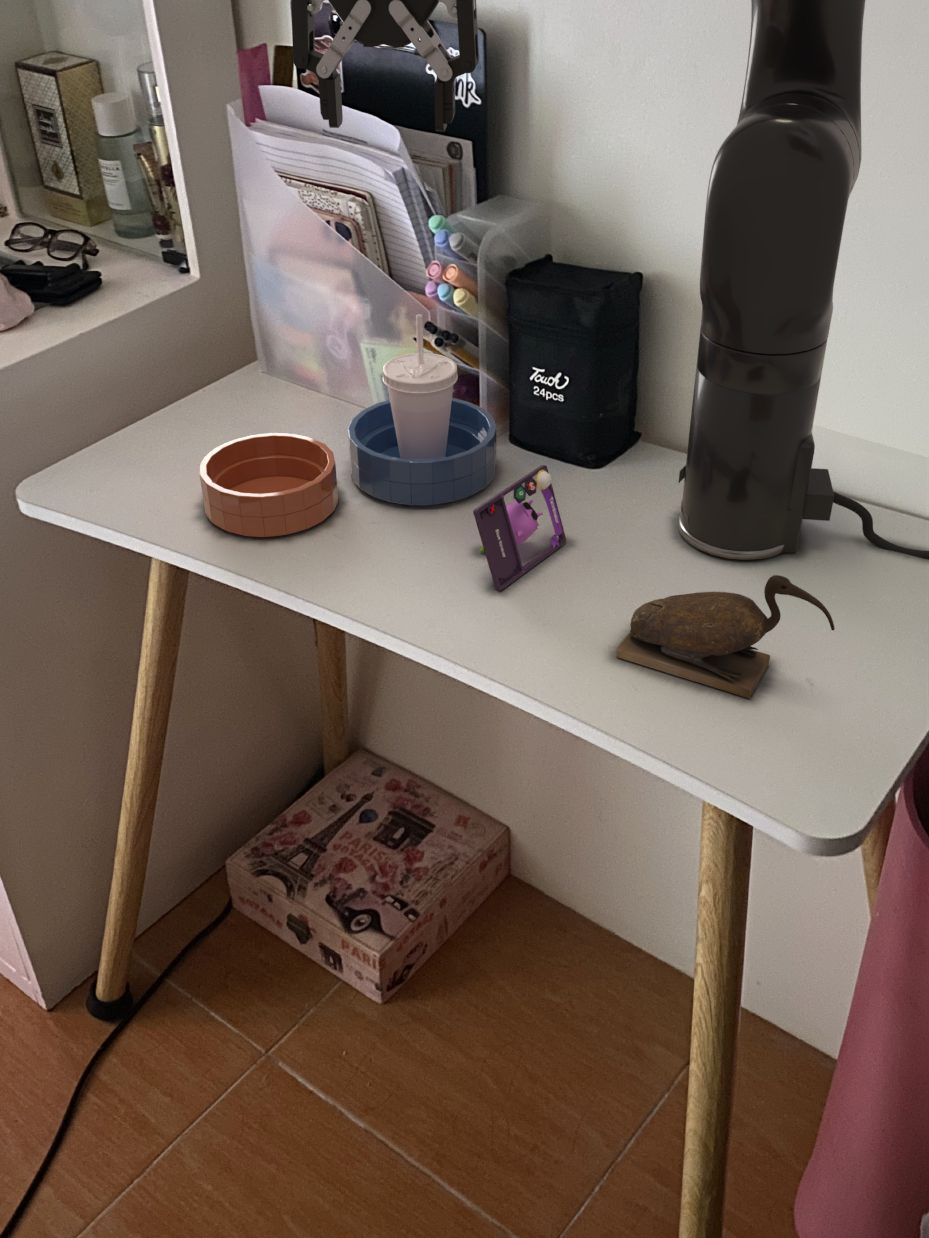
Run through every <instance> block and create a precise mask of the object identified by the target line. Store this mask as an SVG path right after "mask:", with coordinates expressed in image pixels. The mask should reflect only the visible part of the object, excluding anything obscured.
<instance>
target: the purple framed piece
mask: <svg viewBox="0 0 929 1238" xmlns="http://www.w3.org/2000/svg"><path fill="white" fill-rule="evenodd" d="M534 477H535V478H534ZM552 481H553V480H552V476H551V474H550V472H549V469H548V466H547V465H546V464H542V465H539V466H538V467H536V468H535V469H534V470H532V471H530V472H529V473H527V474H526V475H524V476H522V477H521V478H520V479H518V480H516V481H515V482H514V483H513V482H512V484H510V485H509V486H507V487H506V488H504V489H503V490H501V491H499V492H498V493H496V494H495V495H494V496H492V497H490V498H489V499H488V500H485V501H484V502H483V503H481V504H480V505H478V506H476V507H475V508H474V509H473V512H472V514H473V516H474V520H475V525H476V527H477V530H478V535H479V537H480V540H481V545H482V546H481V547H480V549H479V551H480V552H481V553H484V555H485V558H486V562H487V566H488V569H489V571H490V572H489V573H490V575H491V579H492V582H493V585H494V588H495V590H496V591H502V590H505V588H507V587H508V586H510V584H512V583H513V582H515V581H516V580H518V579H519V578H520V577H522V576H523V575H524V574H525V573H527V572H528V571H530V570H531V569H532V568H534V567H535V566H537V565H538V564H539V563H541V562H542V561H543V560H544V559H546V558H547V557H549V556H550V555H551V554H553V553H555V551H557V550H558V549H559V548H561V547H563V545H565V544H566V543H567V537H566V533H565V529H564V525H563V521H562V518H561V514H560V510H559V507H558V502H557V499H556V495H555V492H554V488H553V484H552ZM523 484H524V485H523ZM537 487H538V489H539V490H540V492H541V494H542V496H543V499H544V502H545V504H546V507H547V511H548V513H549V517H550V520H551V523H552V527H553V532H554V534H553V535H552V536H551V537H550V542H551V545H549V546H548V547H547V548H546V549H544V550H543V551H541V552H540V553H539V554H537V555H536V556H534V557H533V558H532V559H531V560H529V561H528V562H526V563H525V564H523V563H522V560H521V554H520V552H519V548H518V546H520V545H522V544H523V543H524V542H526V541H527V540H529V539H530V537H532V535H533V534H534V533H535V532H536V531H537V530H540V528H539V527H542V526H543V524H542V523H539V521H538V519H539V517H540V516H543V514H544V512H543V511H539V512H536V510H535V509H534V508H533V506H532V505H533V503H534V500H533V499H530V500H529V501H526V498H527V497H526V496H528V497H531V496H533V495H534V494H536V493H537ZM512 491H513V500H514V501H513V502H510V503H508V504H507V505H506V501H505V496H506V495H508V494H509V493H511V492H512Z"/></svg>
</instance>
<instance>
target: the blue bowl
mask: <svg viewBox="0 0 929 1238" xmlns="http://www.w3.org/2000/svg"><path fill="white" fill-rule="evenodd" d="M347 437H348V451H349V464H350V465H349V466H350V473H351V479H352V481H353V482H354V483H355V485H356V486H357V487H358V489H360V490H361V491H362V492H364V493H366V494H367V495H369V496H371V497H373V498H374V499H375V498H376V499H377V500H378V499H379V500H382V501H385V502H388V503H394V504H400V505H407V506H433V505H434V506H435V505H441V504H447V503H452V502H457V501H460V500H462V499H465V498H468V497H471V496H473V495H475V494H477V493H478V492H480V491H481V490H483V489H485V488H486V487H487V486H488V485H489V484H490V483H491V481H492V480H493V479H494V478H495V475H496V470H497V425H496V422H495V419H494V417H493V415H491V413H489V412H488V411H487V410H485V408H483V407H480V406H479V405H476V404H474V403H472V402H470V401H466V400H463V399H460V398H456V397H452V403H451V412H450V420H449V429H448V438H447V447H446V456H445V457H441V458H435V459H404V458H400V453H399V447H398V442H397V436H396V431H395V425H394V420H393V414H392V409H391V403H390V399H387V400H383V401H380V402H377V403H374V404H372V405H370V406H368V407H367V408H364V409H362V410H361V411H359V412H358V413H357V414H356V415H355V416H354V417H353V418H352V419H351V421H350V423H349V425H348V427H347Z"/></svg>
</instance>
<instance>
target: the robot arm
mask: <svg viewBox="0 0 929 1238" xmlns="http://www.w3.org/2000/svg"><path fill="white" fill-rule="evenodd" d="M327 1H328V3H329V5H330V6H331V7H332V9H333V10H334V12H335V13H336V15H337V16H338V18H339V19H340V20H341V22H342V25H341V26H340V28H339V29H338V31H337V32H336V34H335V36H333V38H332V41H331V42H330V44H329V46H328V48H327V49H326V51H325V52H324V53H322V52H320V51H317V50H316V44H315V43H316V41H315V40H316V39H315V38H316V37H315V35H316V34H315V33H316V32H315V31H316V30H315V15H317V14H318V13H319V12H321V11H322V8H323V4H324V2H325V0H291V28H292V29H291V34H292V35H291V36H292V37H291V38H292V39H291V40H292V62H293V65H294V66H295V67H296V69H301V70H303V69H304V70H306V71H309V72H311V73H313V74H314V75H315V77H316V78H317V82H318V94H319V96H318V97H319V111H320V115H321V117H322V120H323V121H328V128H330V129H339V128H340V127H341V125H342V124H343V121H344V119H343V117H344V116H343V100H342V85H341V84H342V81H341V73H338V70H337V69H338V67H339V65H340V64H341V62H342V61H343V59H344V58H345V56H346V55H347V53H348V52H349V50H350V48H351V47H352V46H353V44H354V43H355V41H356V42H357V43H358V44H360V45H363V48H375V47H378V46H383V45H384V46H388V47H391V48H397V49H398V48H399V49H400V48H401V49H403V48H405V47H406V46H408V45H410V44H412V45H413V47H414V48H415V50H416V51H417V52H418V54H419V55H420V56H421V58H422V59H424V60H425V61H426V62H427V64H428V65H429V66H430V68H431V70H432V71H433V72H434V74H435V75H436V79H435V80H434V82H433V83H434V85H433V86H434V130H435V131H434V132H445V131H446V129H447V127H448V125H451V124H452V123H453V120H454V117H455V114H456V78H457V77H460V76H462V75H466V74H471V73H473V72H474V71H475V69H476V67H477V65H478V64H479V62H480V51H479V49H480V48H479V31H478V30H479V29H478V11H477V9H478V8H477V0H327ZM439 3H443V4H444V5H445V7H446V9H447V13H448V15H449V16H450V17H451V18H454V19H457V21H456V22H457V37H458V53H459V54H457V55H455V56H453V57H452V55H451V54H450V52H449V51H448V50H447V48H446V47H445V45H444V44H443V42H442V40H441V37H440V36H439V34H438V33H437V32H436V29H435V28H434V27H433V25H432V24H431V23H430V21H429V19H430V17H431V16H432V14H433V13H434V11H435V10H436V8H437V6H438V5H439ZM750 3H751V9H750V10H751V11H750V15H751V16H750V18H751V20H750V35H749V45H748V46H749V47H748V55H747V63H746V69H745V70H746V71H745V79H744V85H743V92H742V98H741V104H740V109H739V114H738V117H737V122H736V126H735V127H733V129H732V131H730V133H729V134H728V136H727V137H726V138H725V139H724V141H723V142H722V143H721V146H720V147H719V148H718V151H717V152H716V155H715V157H714V160H713V163H712V165H711V171H710V175H709V178H708V179H709V180H708V186H707V194H706V203H705V212H704V223H703V225H704V226H703V236H702V248H701V259H700V260H701V262H700V274H699V296H700V301H701V305H702V307H701V320H700V321H701V322H700V330H699V338H698V339H699V340H698V349H697V357H696V368H695V376H694V377H695V378H694V386H693V395H692V405H691V413H690V422H689V433H688V442H687V449H686V450H687V451H686V461H685V465H684V466H683V468H681V469H680V470H679V473H678V483H677V484H678V485H679V484H680V483H681V482H682V481H683V489H682V491H683V492H682V498H681V503H680V512H679V515H678V526H677V527H678V530H679V533H680V535H681V536H682V537H683V539H684V540H685V541H686V542H687V543H688V544H690V545H691V546H693V547H694V548H696V549H698V550H700V551H702V552H704V553H706V554H708V555H712V556H716V557H720V558H724V559H730V560H740V561H741V560H743V561H753V560H761V559H768V558H771V557H774V556H777V555H779V554H782V553H794V554H795V553H797V552H798V548H799V542H800V536H801V530H802V524H803V520H805V521H806V520H807V521H808V520H809V521H827V522H830V521H831V516H832V511H833V504H835V505H838V506H840V507H843V508H845V509H847V510H849V511H851V512H853V513H855V514H856V515H857V516H858V518H860V519H861V524H862V533H863V536H864V538H865V539H866V540H867V541H868V542H870V543H871V544H872V545H874V547H875V546H876V547H877V548H879V549H883V550H886V551H890V552H895V553H899V554H903V555H908V556H911V557H916V558H920V559H924V560H929V550H923V549H922V550H921V549H914V548H909V547H904V546H901V545H897V544H895V543H893V542H891V541H888V540H886V539H885V538H883V537H882V536H880V535H879V534H878V533H876V532H875V530H874V519H873V517H872V514H871V512H870V511H869V510H868V509H867V508H866V507H865V506H864V505H862V504H861V503H859V502H858V501H857V500H854V499H852V498H850V497H848V496H845V495H843V494H841V493H838V492H836V491H834V488H833V485H832V480H831V476H830V471H829V469H828V468H813V461H814V455H815V449H816V445H815V439H814V435H813V427H814V421H815V415H816V410H817V403H818V398H819V392H820V387H821V386H820V385H821V381H822V380H821V379H822V373H823V368H824V362H825V357H826V351H827V345H828V338H829V335H830V329H831V324H832V317H833V311H834V301H833V300H834V299H833V298H834V287H835V286H834V285H835V280H836V273H837V267H838V262H839V256H840V250H841V244H842V238H843V233H844V226H845V221H846V220H845V219H846V214H847V209H848V204H849V200H850V199H849V198H850V197H851V194H852V192H853V190H854V187H855V185H856V183H857V180H858V177H859V173H860V168H861V164H862V163H861V162H862V57H863V54H862V53H863V31H864V30H863V29H864V17H865V10H866V9H865V8H866V0H750Z"/></svg>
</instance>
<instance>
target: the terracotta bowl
mask: <svg viewBox="0 0 929 1238" xmlns="http://www.w3.org/2000/svg"><path fill="white" fill-rule="evenodd" d="M336 465H337V464H336V459H335V454H334V452H333V451H332V450H331V449H330V447H328V446H327V444H326V443H324V442H321V441H319V440H317V439H315V438H313V437H310V436H306V435H301V434H296V433H285V432H269V433H268V432H267V433H258V434H256V433H255V434H251V435H247V436H242V437H238V438H234V439H231V440H230V441H227V442H225V443H223V444H220V445H218V446H216V447H215V448H214V449H212V450H211V451H210V452H208V453H207V454H206V455H204V458H203V459H202V461H201V462H200V464H199V467H198V468H199V481H200V487H201V494H202V499H203V505H204V507H203V508H204V512H205V515H206V516H207V518H208V519H209V521H210V522H211V524H213V525H215V526H216V527H218V528H220V529H221V530H224V531H226V532H229V533H232V534H236V535H240V536H244V537H255V538H270V537H280V536H286V535H292V534H295V533H298V532H302V531H305V530H308V529H310V528H312V527H314V526H316V525H318V524H320V523H322V522H323V521H325V520H327V518H328V517H329V516H330V515H331V514H332V513H334V512H335V509H336V507H337V504H338V502H339V490H338V479H337V466H336Z"/></svg>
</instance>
